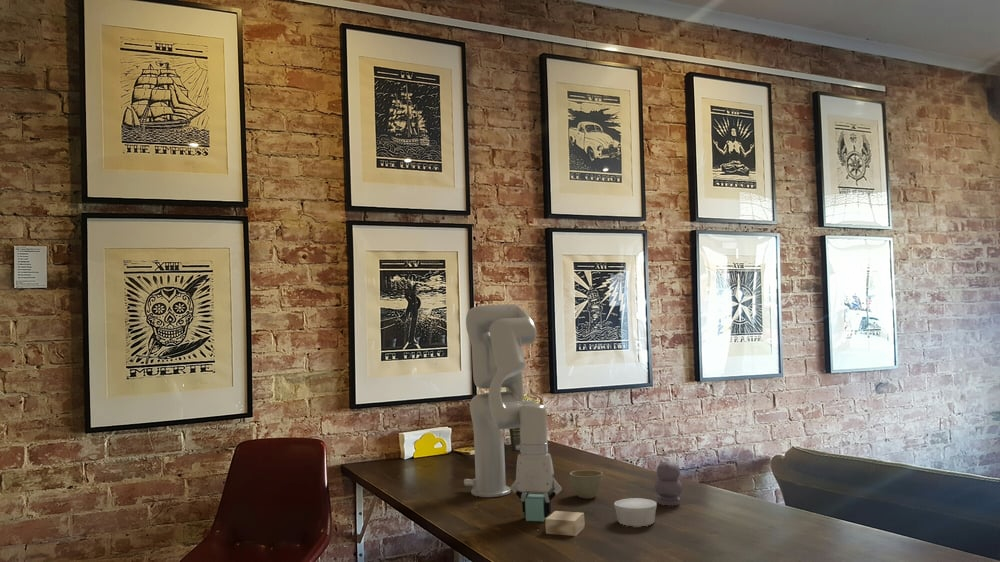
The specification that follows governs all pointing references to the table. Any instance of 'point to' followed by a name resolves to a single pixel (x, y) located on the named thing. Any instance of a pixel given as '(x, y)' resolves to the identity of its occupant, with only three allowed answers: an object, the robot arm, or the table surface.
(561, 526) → the base
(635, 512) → the ramekin
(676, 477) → the cat figurine
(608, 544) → the table surface
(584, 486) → the flower pot
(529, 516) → the block
